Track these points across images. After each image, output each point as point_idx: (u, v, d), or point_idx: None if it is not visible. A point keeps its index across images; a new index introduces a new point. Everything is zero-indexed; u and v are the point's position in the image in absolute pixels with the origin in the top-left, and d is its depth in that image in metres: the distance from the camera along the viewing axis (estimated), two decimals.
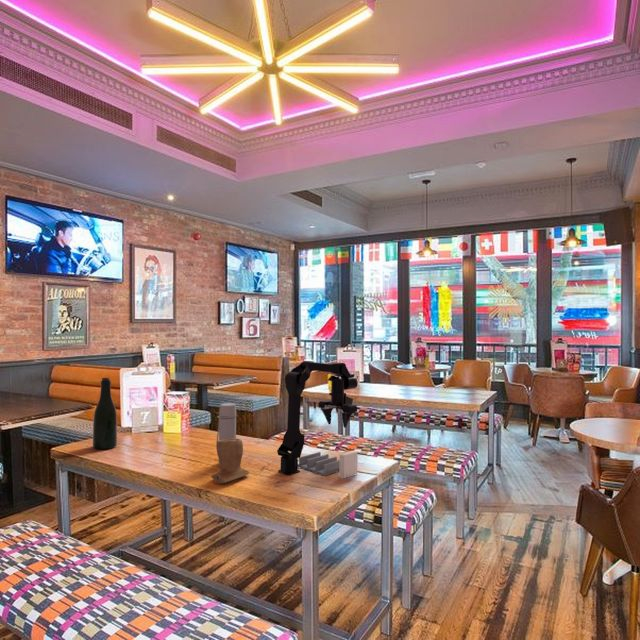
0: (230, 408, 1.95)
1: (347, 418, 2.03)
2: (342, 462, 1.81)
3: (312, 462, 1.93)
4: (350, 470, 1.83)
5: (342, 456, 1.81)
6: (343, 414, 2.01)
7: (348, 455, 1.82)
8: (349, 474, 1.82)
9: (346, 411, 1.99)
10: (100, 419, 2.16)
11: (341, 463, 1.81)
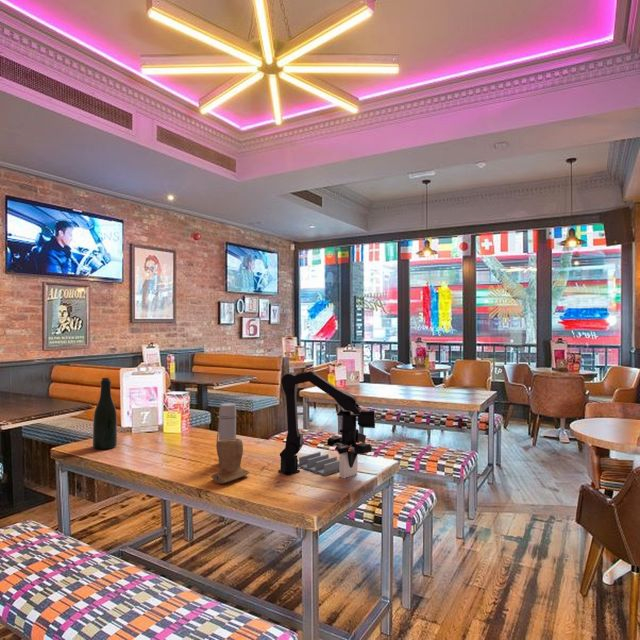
0: (230, 408, 1.95)
1: (353, 457, 1.82)
2: (342, 462, 1.81)
3: (312, 462, 1.93)
4: (350, 470, 1.83)
5: (342, 456, 1.81)
6: (349, 453, 1.80)
7: None
8: (349, 474, 1.82)
9: (359, 452, 1.76)
10: (100, 419, 2.16)
11: (341, 463, 1.81)
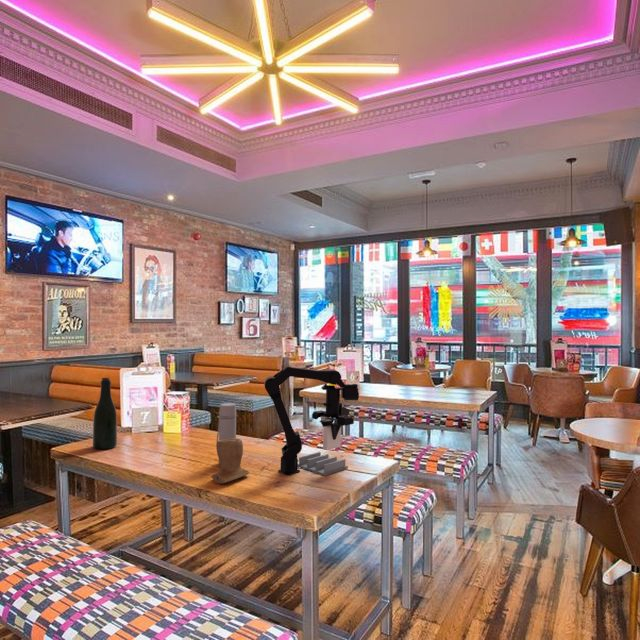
0: (230, 408, 1.95)
1: (337, 429, 1.88)
2: (325, 434, 1.87)
3: (312, 462, 1.93)
4: (334, 442, 1.89)
5: (326, 428, 1.87)
6: (332, 425, 1.86)
7: None
8: (332, 446, 1.89)
9: (341, 423, 1.82)
10: (100, 419, 2.16)
11: (325, 435, 1.87)
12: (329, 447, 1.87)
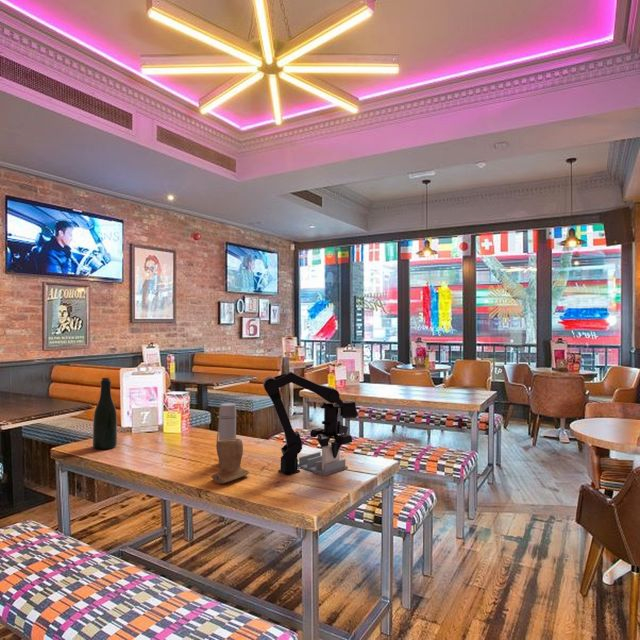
0: (230, 408, 1.95)
1: (337, 448, 1.88)
2: (324, 455, 1.88)
3: (312, 462, 1.93)
4: None
5: (324, 449, 1.88)
6: (332, 444, 1.86)
7: (330, 448, 1.89)
8: None
9: (340, 442, 1.83)
10: (100, 419, 2.16)
11: (323, 456, 1.88)
12: None
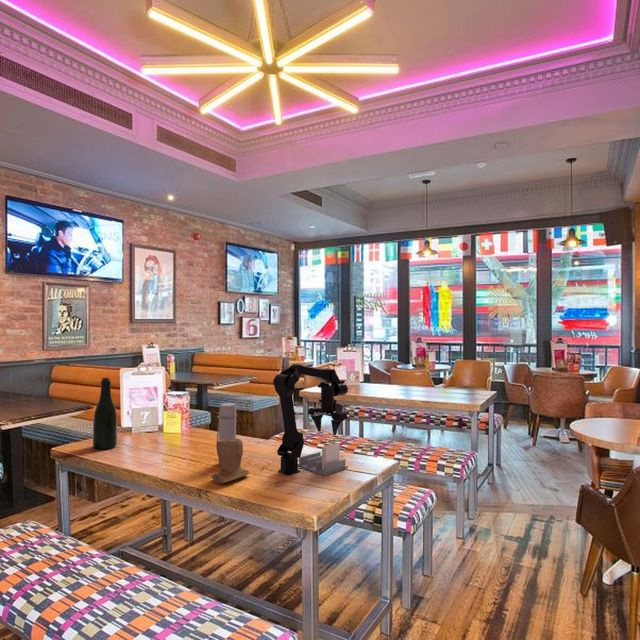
0: (230, 408, 1.95)
1: (337, 425, 1.99)
2: (324, 455, 1.88)
3: (312, 462, 1.93)
4: None
5: (324, 449, 1.88)
6: (333, 421, 1.97)
7: (330, 448, 1.89)
8: None
9: (336, 418, 1.95)
10: (100, 419, 2.16)
11: (323, 456, 1.88)
12: None
